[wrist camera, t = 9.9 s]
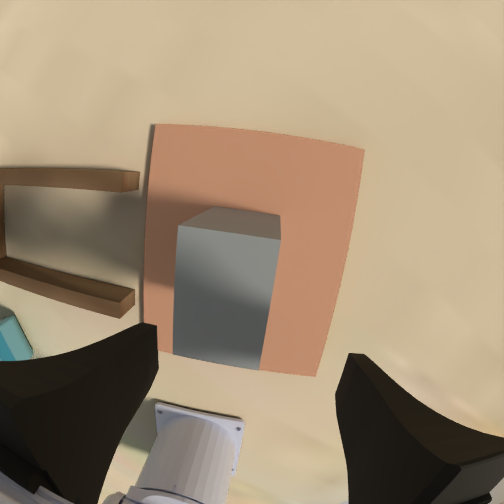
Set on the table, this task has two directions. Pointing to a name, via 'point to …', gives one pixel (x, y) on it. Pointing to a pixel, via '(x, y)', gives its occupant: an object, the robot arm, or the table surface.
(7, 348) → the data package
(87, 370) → the robot arm
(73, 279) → the frame
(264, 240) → the blank block
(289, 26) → the table surface
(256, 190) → the mat
